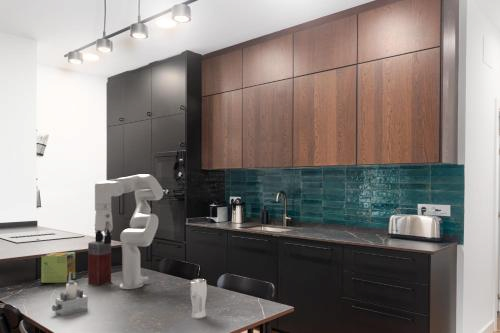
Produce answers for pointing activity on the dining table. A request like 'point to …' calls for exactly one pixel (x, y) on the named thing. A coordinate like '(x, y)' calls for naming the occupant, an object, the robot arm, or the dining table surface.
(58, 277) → the protein box
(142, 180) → the robot arm
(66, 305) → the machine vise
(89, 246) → the red canister
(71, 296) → the bottle
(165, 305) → the dining table surface
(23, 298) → the dining table surface
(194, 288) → the beer glass
